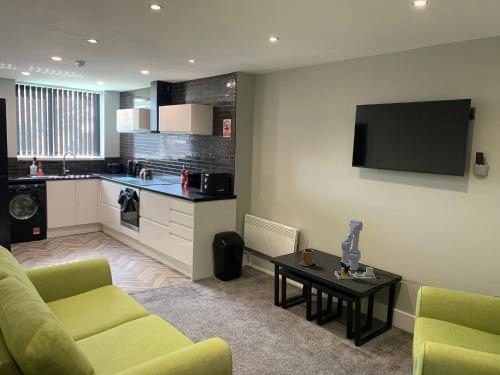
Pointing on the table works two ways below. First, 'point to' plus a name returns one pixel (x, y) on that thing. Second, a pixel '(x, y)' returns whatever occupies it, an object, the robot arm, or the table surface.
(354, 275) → the fuse block
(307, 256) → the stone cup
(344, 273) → the block
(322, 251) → the table surface
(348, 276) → the tray
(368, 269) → the block
